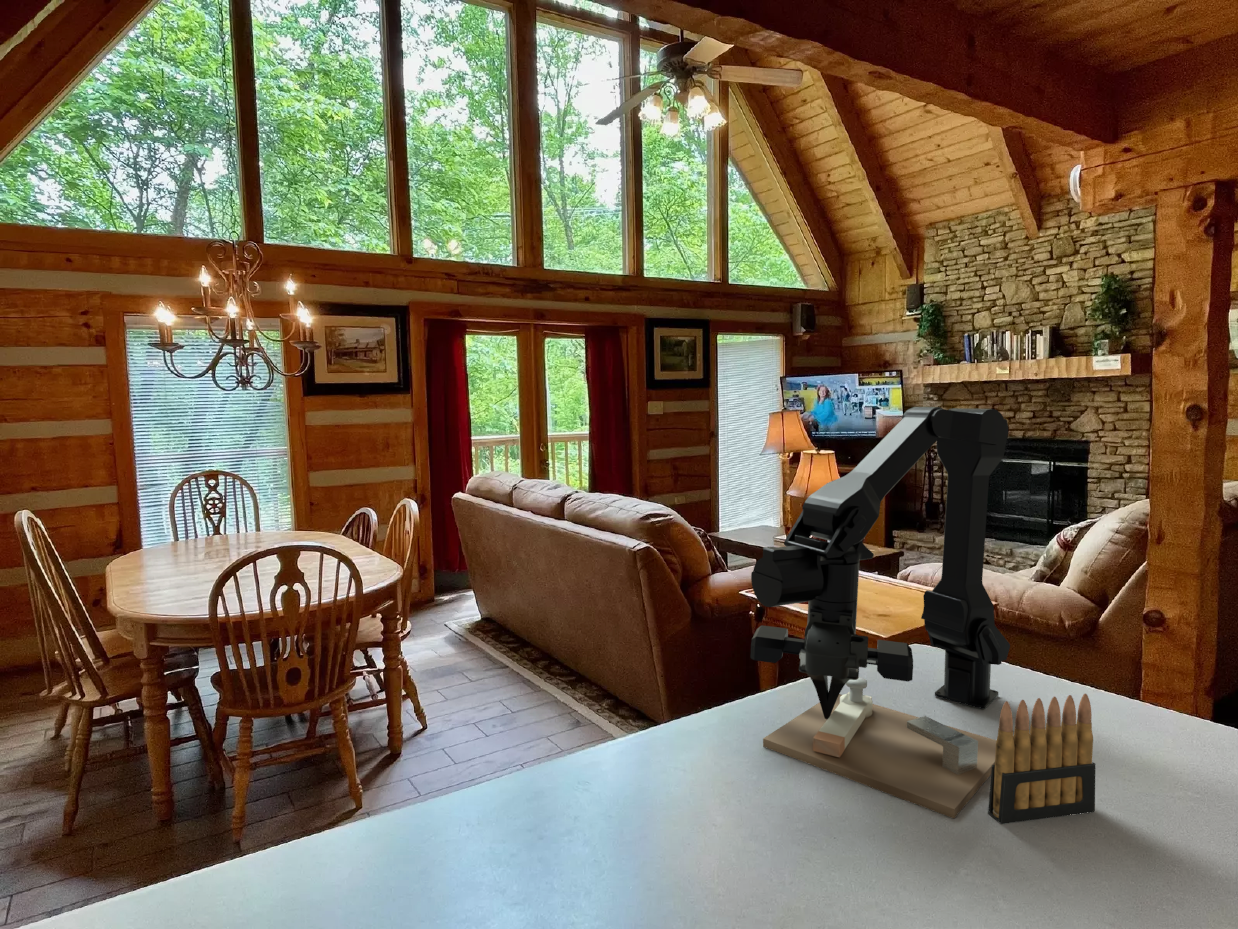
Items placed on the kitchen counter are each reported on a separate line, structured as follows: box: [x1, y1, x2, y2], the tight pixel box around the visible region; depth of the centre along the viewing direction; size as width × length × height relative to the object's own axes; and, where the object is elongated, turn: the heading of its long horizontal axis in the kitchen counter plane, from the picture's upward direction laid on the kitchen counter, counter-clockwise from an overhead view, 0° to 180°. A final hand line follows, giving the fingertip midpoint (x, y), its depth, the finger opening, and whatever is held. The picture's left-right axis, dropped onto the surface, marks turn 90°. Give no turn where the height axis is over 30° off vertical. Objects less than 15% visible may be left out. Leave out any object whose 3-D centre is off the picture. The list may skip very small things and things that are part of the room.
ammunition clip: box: [987, 693, 1097, 825], centre depth 72 cm, size 11×2×12 cm, turn 100°
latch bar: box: [813, 676, 874, 758], centre depth 88 cm, size 15×4×4 cm, turn 148°
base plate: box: [762, 693, 997, 820], centre depth 85 cm, size 18×22×1 cm
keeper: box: [907, 715, 978, 775], centre depth 81 cm, size 3×7×3 cm, turn 26°
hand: (827, 718), depth 90 cm, fingers closed
